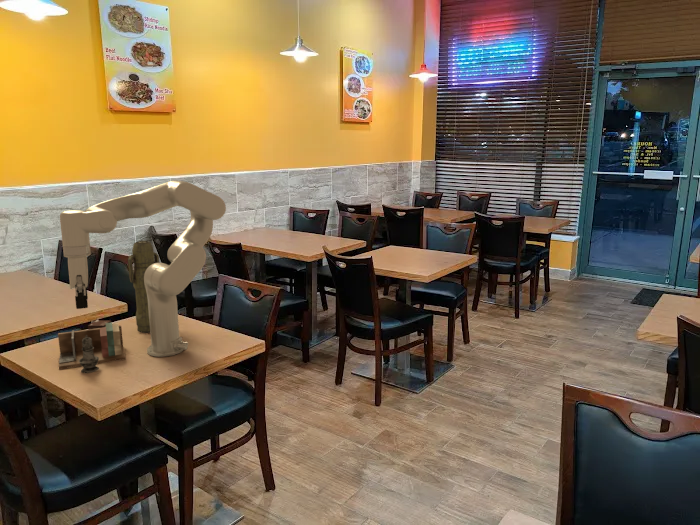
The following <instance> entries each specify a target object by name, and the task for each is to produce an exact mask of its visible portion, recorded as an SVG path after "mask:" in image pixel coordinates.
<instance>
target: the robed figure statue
mask: <svg viewBox="0 0 700 525" xmlns="http://www.w3.org/2000/svg"><path fill="white" fill-rule="evenodd" d="M131 253H132V254H131V255H129V256H128V258H127V264H128V277H129V282H130V284H131V283H132V284H133V286H132V287H133V289H134V290H135V302H136V303H135V304H136V312H135V322H136V327H137V328H136V329H137V332H138V333H142V334H147V333H148V334H149V333H150V322H149V308H148V298H147V292H146V288H145V283H144V274H145V271H146V269H147V268H148V267H149V266H150V265H152V264H154V263H160V257H159V254H158V253H157V252H155V251H154V247H153V245H152V243H151V242H150V241H149V240H138V241H136V242H133V245H132V252H131Z"/></svg>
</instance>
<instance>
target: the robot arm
mask: <svg viewBox="0 0 700 525" xmlns="http://www.w3.org/2000/svg"><path fill="white" fill-rule="evenodd" d="M226 206H227V205H226V203H225V201H224V200H223V199H222V198H221V197H220V196H219V195H216V194H215V193H212V192H210V191H208V190H206V189H203V188H201V187H199V186H197V185H196V184H193V183H191V182H188V181H183V180H176V179H175V180H174V179H173V180H170V181H167V182H163V183H161V184H158V185H155V186H153V187H149V188H147V189H144V190H141V191H138V192H135V193H130V194H127V195H124V196H123V195H122V196H120V197H116V198H112V199H109V200H105V201H102V202H100V203H97V204H94V205H92V206H90V207H87V209H85V210H79V209H75V210H74V209H72V210H63V211H62V212H61V213H60V215H59V221H60V232H61V243H62V250H63V251H62V252H63V257H64V258H67V267H68V279H69V289H70V290H74V289H75V296H74V298H75V308H76V309H77V310H81V309H82V310H83V309H88V308H89V304H88V299H89V298H88V289H87V288H88V284H89V267H88V257H89V256H91V255H92V252H91V244H90V243H91V242H90V241H91V238H90V234H107V233H111V232H113V231H114V230H115V228H116V227H117V225H118V222H119V221H123V220H128V219H129V220H130V219H142V218H148V217H152V216H153V215H157V214H159V213H162V212H164V211H166V210H169V209H173V208H175V207H181V208H184V209H186V210H188V211H189V212H190V219H189V223H188V225H187V226H186V228H185V229H184V230H183V231H182V233H181V234H180V235H179V236H178V237H177V238H176V239H175V241H174V242H173V243H172V244H171V245H170V247H169V248H168V250H167V254H166V255H167V259H168V261H169V262H170V263H169V264H167V263H163V262H159V263H155V262H154V264H152V265H150V266H149V267H148V268H147V269H146V271H145V274H144V283H145V288H146V292H147V298H148V308H149V322H150V345H149V346H148V347H147V349H146V353H147V354H148V355H149V356H152V357H159V358H161V357H162V358H164V357H172V356H174V355H175V356H176V355H178V354H181V353H182V352H183V351H184V350H188V346H189V342H188V341H183V337H182V336H180V328H179V325H180V324H179V314H178V300H177V299H178V298H177V295H179V294H181V293H182V292H183V291H185V289H186V288H187V287H188V286H189V284H191V282H192V281H193V280H194V279H195V277H196V276H197V275H198V274H199V273H200V271H201V270H202V269H203V267H204V265H205V263H206V260H207V254H206V251H205V249H204V246H205V244H206V243H207V242H208V240H210V238H211V236H212V232H213V229H214V228H213V227H214V221H216V220H219V219H222V217H223V216H225V213H226V209H227V207H226Z"/></svg>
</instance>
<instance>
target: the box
mask: <svg viewBox="0 0 700 525" xmlns="http://www.w3.org/2000/svg"><path fill="white" fill-rule="evenodd" d="M106 323H112V320H94V321H93V322H91V323H90V324H88V325H87V330H88V329H96V328H103V327H106Z"/></svg>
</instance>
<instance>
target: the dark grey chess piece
mask: <svg viewBox="0 0 700 525" xmlns="http://www.w3.org/2000/svg"><path fill="white" fill-rule="evenodd" d="M82 346H83V348H82V351H83V358H81V359H80V360H79V363H80V364H81V366H80V367H82V369H80V372H81V373H83V374H91V373H96V372H97V371H99V369H100V367H99V366H97V365H98V364H99V363H98V360H99V357H97V356H94V354H93V349H94V347H92V339H91V338H90V337H87V335H86V336H85V338H84V339H83V340H82ZM97 363H98V364H97Z"/></svg>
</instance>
